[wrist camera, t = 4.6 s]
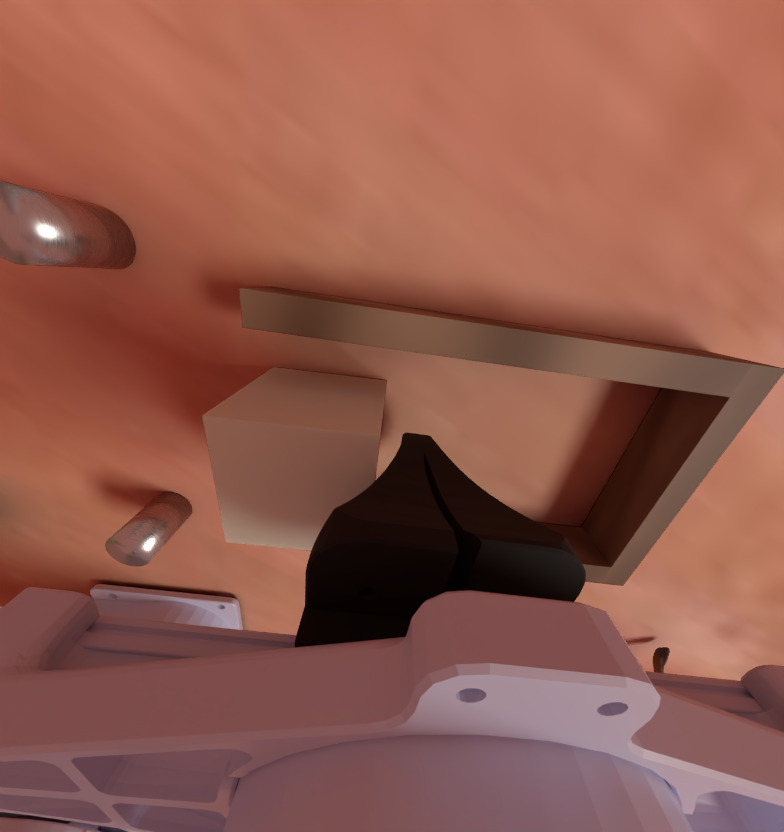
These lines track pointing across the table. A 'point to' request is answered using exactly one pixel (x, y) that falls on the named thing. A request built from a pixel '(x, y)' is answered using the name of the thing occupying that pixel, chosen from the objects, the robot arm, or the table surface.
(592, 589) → the table surface
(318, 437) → the cube
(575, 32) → the table surface
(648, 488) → the stall
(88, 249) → the posts
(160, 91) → the table surface
